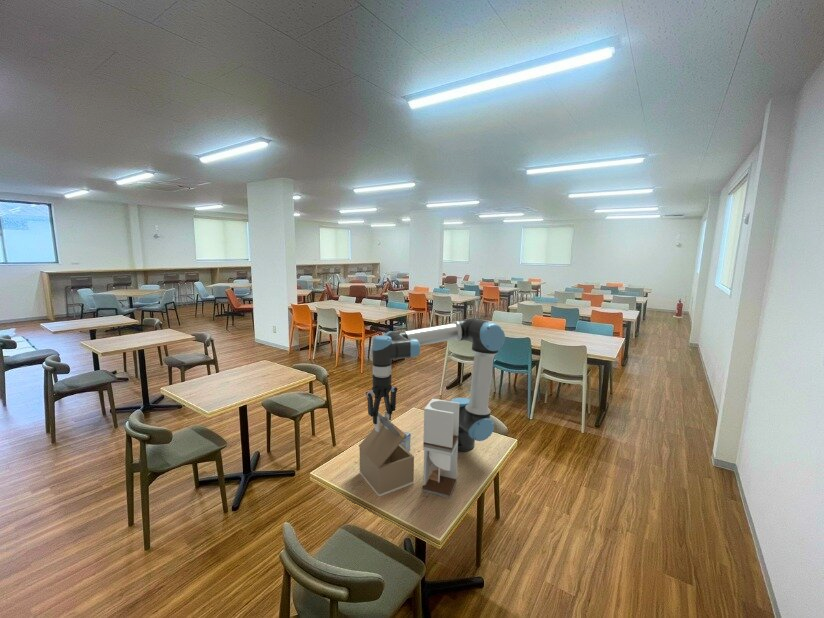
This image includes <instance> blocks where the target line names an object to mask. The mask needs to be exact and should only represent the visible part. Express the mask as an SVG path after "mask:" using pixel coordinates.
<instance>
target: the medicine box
mask: <svg viewBox="0 0 824 618" xmlns="http://www.w3.org/2000/svg"><path fill="white" fill-rule="evenodd" d="M401 431H402V432H404V433H405V434H406V435H407V436H406V437H405V438H404V440H403V441H402V442H401V443H400V445H401V446H403V447H404V448H405V449H406V450H407V451H408V452H410V451H411V437H412V435H411V434H412V433H411V432H410V433H409V432H407V431H403V430H401Z"/></svg>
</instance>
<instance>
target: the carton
mask: <svg viewBox="0 0 824 618" xmlns="http://www.w3.org/2000/svg"><path fill="white" fill-rule="evenodd" d="M414 465H415V456H414V455H413V454H411V452H410V451H407V450H406V449H405V448H404V447H403V446H401V445H400V444H399V446H398V447H397V448H396V449H395V450H394V451H393V453H392V454H391V455H390V456H389V457H388V458H387V460H386V461H385V462H384V463H383V464H382V465H381V467H380V468H378V467H377V466H376V465H375V463H374V462H373V461H372V460H371V459H370V458H369V457H368V456H367V455H366V454H365V452H364V451H363V450H362V449H361V448H360V447H359V474H360V476H361V477H362V478H363V480H365V481H366V482H367V484H368V485H369V486H370V488H371V489H372V490H373V491H374V493H375V494H376V495H377V497H378V498H379V497H383V496H384V495H385V496H386V495H388V494H390V493H393V492H395V491H398V490H401V489H403V488H406V487H407V486H411V485H414V479H415V477H414V476H415V475H414V473H415V471H414V470H415V466H414Z"/></svg>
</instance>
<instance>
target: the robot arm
mask: <svg viewBox="0 0 824 618" xmlns="http://www.w3.org/2000/svg"><path fill="white" fill-rule="evenodd" d="M505 340H506V334H505V331H504V330H503V328H502V327H501V325H500V324H497V323H495V322H493V321H490V320H485V319H482V318H479V317H478V318H477V317H471V318H465V319H463V318H462V319H458V320H454V321H452V323H447V324H442V325H441V324H440V325H434V326H428V327H423V328H416V329H410V330H405V331H398V332H397V331H394V330H393V331H392V330H389V331H387V332H386V333H385V334H384V335H383V334H382V335H375V336H374V337H373V338H372V344H371V345H372V346H371V351H372V353H371V354H372V388H371V390H370V391H366V392H365V396H366V397H367V414H368V415H369V416H370V417H371V418H372V423H373V425H374V428H375V430H376V431H377V432H379V422H380V421H379V416H378V413H379V410H380V409H379V408H380V405H381V401H382V398H383V401H384V406H385V410H386V411H384V417H385V418H386V419H387V420H388V421H391V420H392V414H393V412H396V407H397V406H396V405H397V392H398V387H396V386H395V385H392V360H398V359H408V358H410V359H411V358H415V357H418V356H419V355H420V353H421V346H426V345H431V344H437V343H443V342H447V341H456V342H460V341H466V342H471V344H472V345H471V351H472V352H473V353H474V358H473V364H472V373H471V383H470V391H469V398H467V397H455V398H451V400H450V401H452V402H458V403H460V404H459V429H458V452H467V451H470V450H473V449H474V447H475V441H477V442H484V441H485V440H486V441H487V439H489V437H491V435H492V434H493V433H494V429H495V423H494V421H493V420H492V419H491V409H490V408H489V401H490V400H489V399H490V393H491V385H492V384H491V383H492V375H493V366H494V358H495V356H496V355H498V353H499V350H501V349H502V346H504V344H505ZM373 397H374V398H373ZM373 399H374V400H373ZM385 428H386V429H388V428H387V427H386V426H385Z"/></svg>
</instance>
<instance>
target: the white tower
mask: <svg viewBox="0 0 824 618" xmlns="http://www.w3.org/2000/svg"><path fill="white" fill-rule="evenodd" d="M459 404H460V403H458V402H452V401H451V400H446V399H445V400H444V399H438V398H431V400H430V401H429V402H428V403H427V404H426V406H425V407H424V408H423V410H424V411H423V441H422V442H423V443H422V444H423V446H422V447H423V448H422V450H423V475H422V476H423V479H422V480H423V482H422V483H423V484H422V487H421V489H422V490H421V492H424V493H428V494H431V495H435V496H439V497H442V498H446V499H451V498H452V494H453V492H454V490H455V487H456V485H457V476H458V453H459V451H458V429H459ZM455 484H456V485H455ZM453 489H454V490H453Z"/></svg>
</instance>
